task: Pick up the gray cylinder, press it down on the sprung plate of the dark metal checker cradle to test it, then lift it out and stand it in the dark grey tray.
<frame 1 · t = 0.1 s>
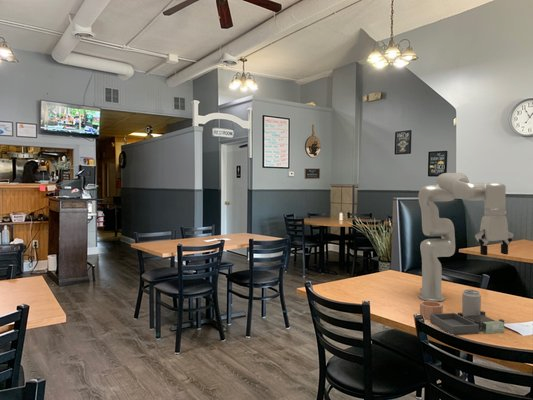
hand: (494, 254, 163), 31 cm above the table, tool pointing down, fingers open, 9 cm apart
cradle plate: (480, 320, 168), point 2 cm above the table, slide at -2.0 cm, touching cradle base
dark grey tray: (453, 327, 166), on the table
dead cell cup: (431, 317, 179), on the table
cradle base: (480, 325, 168), on the table
gray cylinder: (471, 317, 179), on the table
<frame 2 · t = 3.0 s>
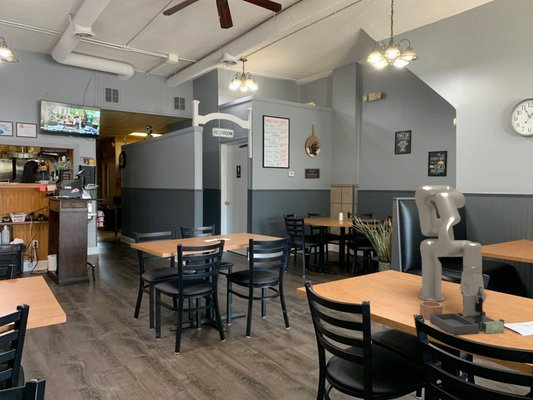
hand: (472, 308, 178), 4 cm above the table, tool pointing down, fingers closed on gray cylinder, 7 cm apart
gray cylinder: (472, 317, 178), on the table, touching gripper
everything else where it was.
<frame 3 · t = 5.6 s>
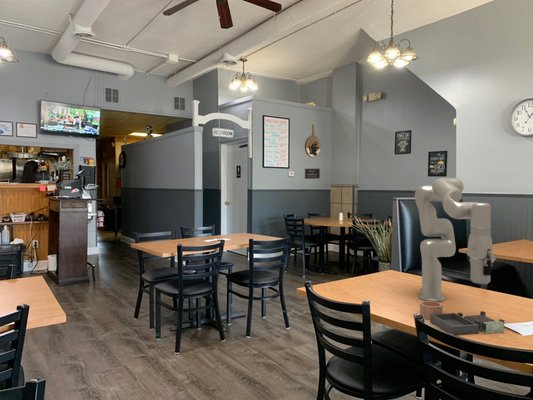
hand: (480, 273, 168), 22 cm above the table, tool pointing down, fingers closed on gray cylinder, 7 cm apart
gray cylinder: (480, 282, 168), point 18 cm above the table, touching gripper
everything else where it was.
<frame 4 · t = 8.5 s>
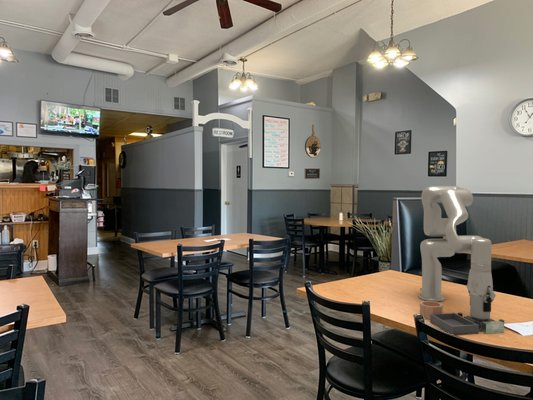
hand: (480, 308, 168), 7 cm above the table, tool pointing down, fingers closed on gray cylinder, 7 cm apart
cradle plate: (480, 320, 168), point 2 cm above the table, slide at -2.0 cm, touching gray cylinder, cradle base
gray cylinder: (480, 318, 168), point 3 cm above the table, touching cradle plate, gripper
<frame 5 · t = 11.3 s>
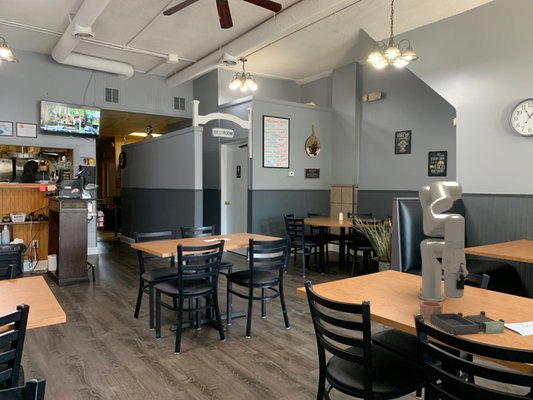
hand: (453, 286, 165), 17 cm above the table, tool pointing down, fingers closed on gray cylinder, 7 cm apart
cradle plate: (480, 320, 168), point 2 cm above the table, slide at -2.0 cm, touching cradle base
gray cylinder: (453, 296, 165), point 13 cm above the table, touching gripper
when the fingers open (6 cm above the table, at t = 13.9 s): gray cylinder stays where it is, resting on dark grey tray.
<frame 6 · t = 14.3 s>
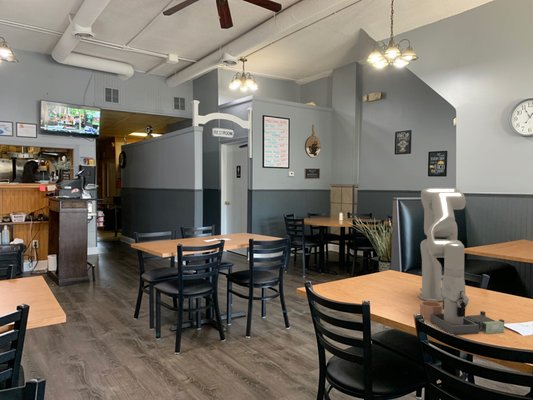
hand: (453, 312, 165), 6 cm above the table, tool pointing down, fingers open, 9 cm apart
gray cylinder: (453, 325, 166), point 1 cm above the table, touching dark grey tray
everything else where it was.
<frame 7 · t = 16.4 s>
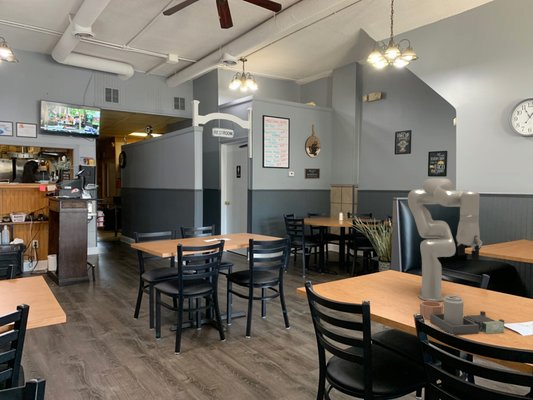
hand: (468, 257, 177), 28 cm above the table, tool pointing down, fingers open, 9 cm apart
nothing on the table moved.
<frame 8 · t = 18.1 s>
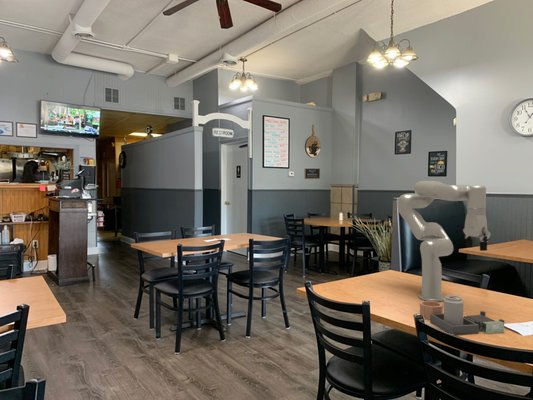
hand: (476, 248, 183), 30 cm above the table, tool pointing down, fingers open, 9 cm apart
nothing on the table moved.
at the end: gray cylinder inside the target area on the dark grey tray (0.2 cm from its centre), point 0.8 cm above the dark grey tray's base; gray cylinder tilted 0°; the gripper is holding nothing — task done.
